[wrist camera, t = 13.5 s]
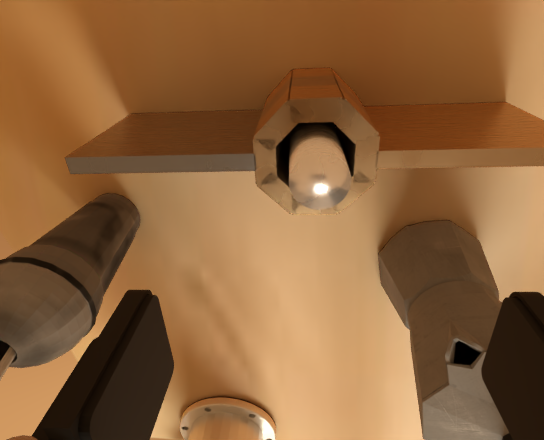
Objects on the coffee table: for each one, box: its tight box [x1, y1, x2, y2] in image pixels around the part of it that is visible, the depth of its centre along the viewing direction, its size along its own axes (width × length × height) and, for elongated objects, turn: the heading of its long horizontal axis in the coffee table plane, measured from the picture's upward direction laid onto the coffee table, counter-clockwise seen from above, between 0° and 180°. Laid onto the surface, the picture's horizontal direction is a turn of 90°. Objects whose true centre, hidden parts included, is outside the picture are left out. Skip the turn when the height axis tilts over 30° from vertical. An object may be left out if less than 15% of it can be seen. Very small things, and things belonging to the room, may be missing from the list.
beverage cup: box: [0, 194, 140, 380], centre depth 26 cm, size 7×7×20 cm
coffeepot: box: [378, 220, 513, 440], centre depth 27 cm, size 15×9×18 cm, turn 34°
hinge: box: [65, 68, 544, 215], centre depth 24 cm, size 28×7×10 cm, turn 93°
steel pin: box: [289, 122, 351, 210], centre depth 23 cm, size 3×3×12 cm
